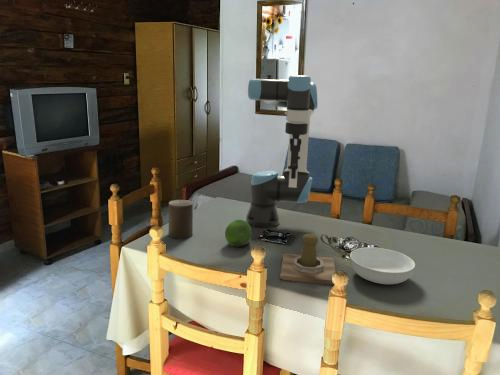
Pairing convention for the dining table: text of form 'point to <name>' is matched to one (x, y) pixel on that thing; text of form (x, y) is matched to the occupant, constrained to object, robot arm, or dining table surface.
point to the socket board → (307, 270)
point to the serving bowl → (381, 265)
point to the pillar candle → (180, 219)
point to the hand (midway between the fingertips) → (293, 181)
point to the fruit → (238, 233)
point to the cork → (309, 251)
